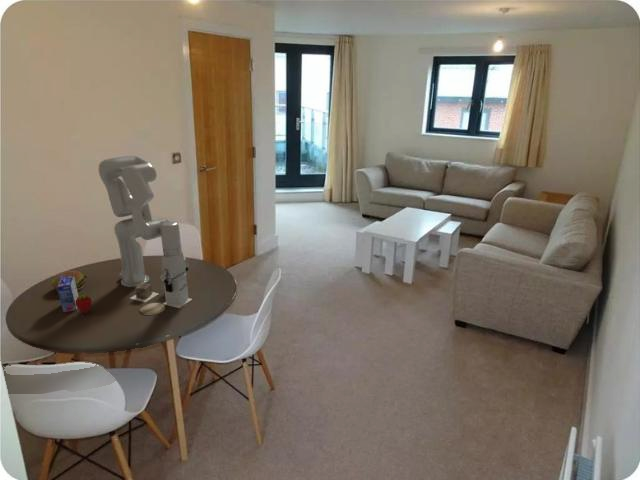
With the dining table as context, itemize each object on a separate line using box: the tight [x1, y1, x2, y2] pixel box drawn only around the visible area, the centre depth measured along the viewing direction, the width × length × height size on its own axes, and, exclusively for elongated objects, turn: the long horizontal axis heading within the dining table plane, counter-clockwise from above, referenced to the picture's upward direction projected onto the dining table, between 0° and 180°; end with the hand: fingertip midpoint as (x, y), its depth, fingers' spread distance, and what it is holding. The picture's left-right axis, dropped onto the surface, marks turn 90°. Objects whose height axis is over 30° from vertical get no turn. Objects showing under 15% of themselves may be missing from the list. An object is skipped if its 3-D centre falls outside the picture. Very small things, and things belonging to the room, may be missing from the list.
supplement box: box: [163, 273, 189, 306], centre depth 191 cm, size 7×7×13 cm
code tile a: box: [162, 297, 193, 309], centre depth 194 cm, size 9×9×1 cm
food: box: [51, 270, 87, 292], centre depth 203 cm, size 14×14×8 cm
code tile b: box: [129, 291, 160, 303], centre depth 198 cm, size 9×9×1 cm
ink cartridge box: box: [57, 275, 79, 313], centre depth 186 cm, size 10×6×14 cm, turn 22°
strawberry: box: [75, 292, 92, 314], centre depth 181 cm, size 6×8×10 cm
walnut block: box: [134, 283, 153, 299], centre depth 197 cm, size 5×5×5 cm
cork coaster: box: [139, 302, 166, 316], centre depth 187 cm, size 10×10×1 cm
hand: (176, 287), depth 191 cm, fingers open, 9 cm apart
